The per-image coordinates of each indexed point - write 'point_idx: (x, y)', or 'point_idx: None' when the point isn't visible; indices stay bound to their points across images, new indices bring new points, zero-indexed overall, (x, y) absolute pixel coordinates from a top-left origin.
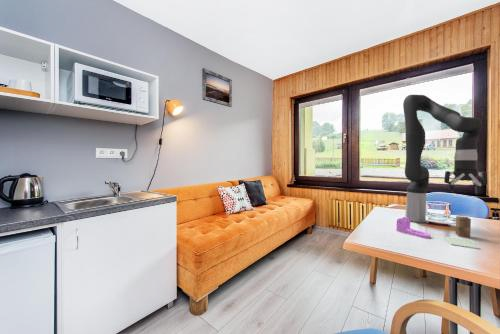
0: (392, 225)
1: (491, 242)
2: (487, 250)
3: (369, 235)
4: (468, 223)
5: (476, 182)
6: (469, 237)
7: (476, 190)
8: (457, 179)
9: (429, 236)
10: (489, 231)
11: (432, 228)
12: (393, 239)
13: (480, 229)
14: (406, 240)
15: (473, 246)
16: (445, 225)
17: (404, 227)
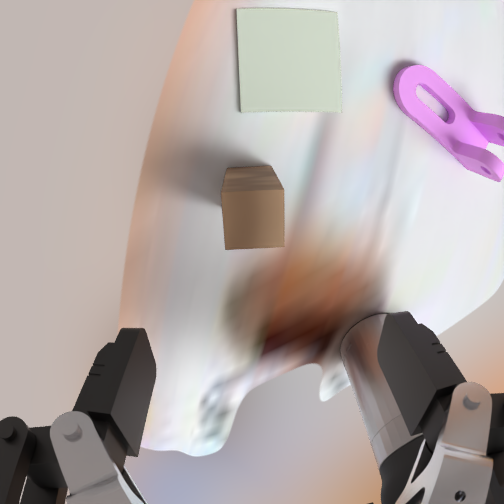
0: (483, 207)
1: (158, 147)
2: (213, 11)
3: None
4: (233, 184)
5: (102, 475)
6: (228, 168)
7: (134, 369)
8: (463, 482)
9: (402, 71)
10: (134, 326)
11: (347, 250)
12: (493, 19)
13: (157, 339)
14: (466, 17)
15: (256, 18)
16: (274, 333)
17: (484, 113)
